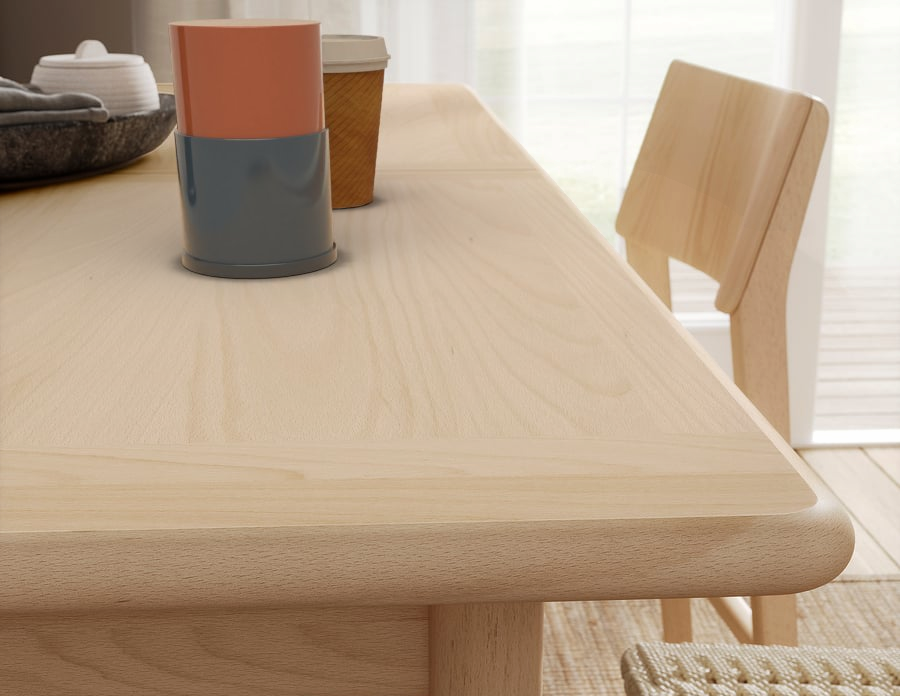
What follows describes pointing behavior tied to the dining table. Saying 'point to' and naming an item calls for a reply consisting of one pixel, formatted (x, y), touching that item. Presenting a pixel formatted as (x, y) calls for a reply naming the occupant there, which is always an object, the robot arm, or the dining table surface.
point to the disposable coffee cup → (353, 113)
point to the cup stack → (252, 147)
